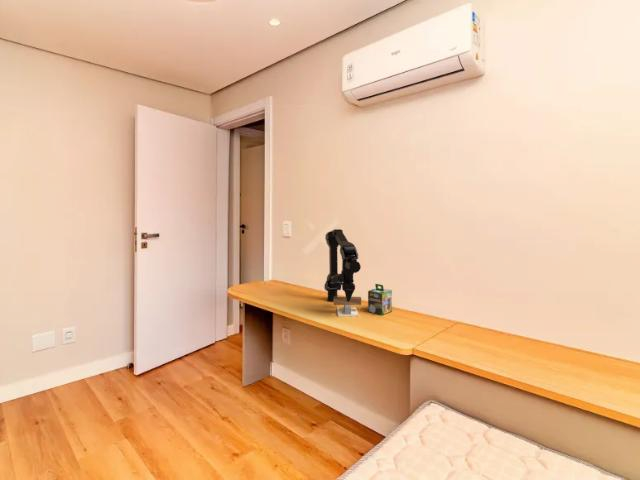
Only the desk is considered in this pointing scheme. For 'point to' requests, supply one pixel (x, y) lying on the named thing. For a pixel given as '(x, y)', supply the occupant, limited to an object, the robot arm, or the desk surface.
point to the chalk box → (380, 300)
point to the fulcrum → (347, 311)
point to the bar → (344, 301)
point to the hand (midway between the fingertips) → (347, 299)
